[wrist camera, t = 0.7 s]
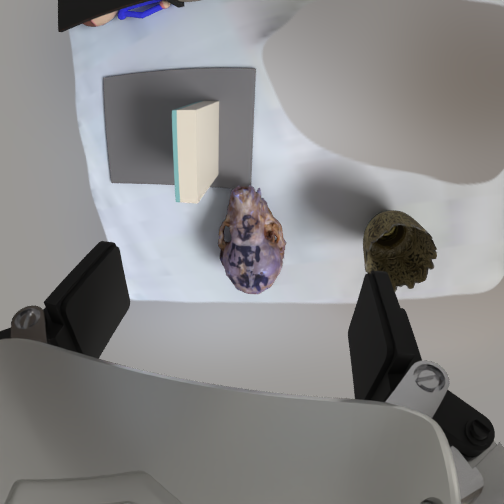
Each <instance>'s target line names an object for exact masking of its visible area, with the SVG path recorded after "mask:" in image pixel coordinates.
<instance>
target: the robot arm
mask: <svg viewBox="0 0 504 504" xmlns="http://www.w3.org/2000/svg"><path fill="white" fill-rule="evenodd" d="M44 304H45V306H46V308H45V309H44V310H43V309H42V308H41V307H38V306H27V307H25V308H22V309H21V310H19V311H18V312H17V313H16V314H15V315H14V317H13V318H12V321H11V328H8V329H5V330H3V331H0V504H504V447H503V446H502V444H501V443H500V442H499V443H498V444H496V443H495V442H494V437H495V432H494V428H493V425H492V423H491V422H490V420H489V419H488V418H487V417H485V416H484V415H483V414H481V413H480V412H478V411H477V410H475V409H474V408H473V407H471V406H470V405H468V404H467V403H465V402H464V401H463V400H461V399H460V398H458V397H457V396H456V395H454V394H453V393H451V392H450V391H449V390H448V387H449V377H448V375H447V373H446V372H445V370H444V369H443V368H442V367H441V366H440V365H438V364H436V363H434V362H432V361H427V360H425V361H422V359H421V356H420V353H419V349H418V346H417V343H416V340H415V337H414V334H413V331H412V328H411V325H410V322H409V319H408V316H407V314H406V311H405V310H404V309H403V308H400V305H399V303H398V300H397V297H396V294H395V291H394V289H393V286H392V283H391V281H390V278H389V275H388V273H387V272H384V271H374V270H372V271H371V272H370V274H366V275H365V277H364V281H363V284H362V288H361V291H360V294H359V298H358V301H357V304H356V308H355V311H354V314H353V317H352V320H351V323H350V326H349V330H348V340H349V348H350V356H351V365H352V374H353V383H354V393H355V399H347V398H330V397H316V396H305V395H293V394H283V393H273V392H265V391H257V390H249V389H242V388H235V387H228V386H222V385H215V384H209V383H204V382H198V381H192V380H187V379H182V378H177V377H171V376H167V375H162V374H158V373H153V372H148V371H144V370H140V369H136V368H131V367H128V366H124V365H120V364H116V363H112V362H108V361H105V360H101V359H99V357H100V355H101V353H102V352H103V350H104V348H105V347H106V345H107V343H108V342H109V340H110V338H111V337H112V335H113V333H114V332H115V330H116V328H117V327H118V325H119V323H120V322H121V320H122V319H123V317H124V315H125V314H126V312H127V310H128V309H129V306H130V298H129V294H128V289H127V284H126V280H125V275H124V270H123V265H122V260H121V255H120V250H119V248H118V247H116V244H115V243H113V242H104V241H101V242H99V243H98V244H97V245H96V246H95V247H94V248H93V249H92V250H91V251H90V252H89V253H88V254H87V255H86V257H84V259H83V260H82V261H81V262H80V263H79V264H78V265H77V266H76V267H75V268H74V269H73V270H72V271H71V272H70V274H68V276H67V277H66V278H65V279H64V280H63V281H62V282H61V283H60V284H59V285H58V287H57V288H56V289H55V290H54V291H53V292H52V293H51V295H50V296H49V297H48V298H47V299H46V300H45V301H44Z"/></svg>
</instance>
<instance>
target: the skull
mask: <svg viewBox="0 0 504 504" xmlns="http://www.w3.org/2000/svg"><path fill="white" fill-rule="evenodd" d="M239 186H240V185H239ZM239 186H237V187H236V188H235V189H233V190H232V192H231V195H230V200H229V205H228V209H227V211H228V213H227V215H226V219H225V221H224V222H222V225H221V226H220V229H219V240H218V246H219V248H220V249H221V253H220V260H221V262H222V265H223V266H224V268H225V272H226V275H227V276H228V278H229V279H230V280H231V282H232V283H233V284H234V285H235V287H236V289H238V290H240V291H242V292H244V293H248V294H260V293H261V292H263V291H265V290H266V289H268V288H270V287H271V286H272V285H273V283H274V281H275V279H276V278H277V276H278V275H279V273H280V271H281V268H282V264H283V261H282V259H283V258H284V250H285V245H286V241H285V240H284V238H283V233H282V226H281V224H280V223H279V221H278V220H276V219H275V218H274V217H273V215H272V213H271V211H270V209H269V208H268V205H267V202H266V201H265V200H264V199H263V198H262V199H261V190H260V188H258V190H257V192H255V190H254V187H252V186H250V185H249V187H243V186H241V187H239ZM225 226H228V227H229V226H230V233H231V237H232V240H231V241H230V242H225V240H224V228H225ZM274 235H275V236H276V237H277V240H276V241H275V237H274ZM268 236H269V237H270V238H268Z"/></svg>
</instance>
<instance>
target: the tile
mask: <svg viewBox="0 0 504 504" xmlns="http://www.w3.org/2000/svg"><path fill="white" fill-rule="evenodd" d="M172 134H173V160H174V180H175V196H176V202H183V203H199V201H200V200H201V198H202V197H203V195H204V194H205V193H206V191H207V190H208V188H209V187H210V186H211V184H212V183H213V181H214V180H215V179H216V177H217V176H218V161H219V101H199V102H195V103H192V104H189V105H186V106H183V107H180V108H177V109H174V110H172Z"/></svg>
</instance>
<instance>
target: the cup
mask: <svg viewBox="0 0 504 504" xmlns="http://www.w3.org/2000/svg"><path fill="white" fill-rule="evenodd" d="M435 250H437V249H436V246H435V244H434V242H433V240H432V237H431V235H430V234H429V233H428V232H427V231H426V230H425V229H424V228H423V227H422V226H421V225H420V224H419V223H418V222H417V221H415V220H414V219H413V218H412V217H410V216H409V215H407V214H405V213H403V212H400V211H385V212H381V213H379V214H377V215H376V216H375V217H374V218H373V219H372V220H371V221H370V222H369V224H368V225H367V227H366V229H365V232H364V237H363V251H364V260H365V270H366V272H367V273H368V274H370V272H371V271H372V270H374V271H384V272H387V273H388V275H389V278H390V281H391V283H392V286H393V289H394V291H395V292H396V290H397V287H396V286H400V287H402V286H403V285H406V286H407V287H408V288H409V289H412V288H414V285H415V283H421V282H423V281H425V280H426V278H427V274H428V268H429V269H430V270H431V269H433V268H434V265H433V262H432V259H436V258H437V253H436V251H435Z"/></svg>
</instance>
